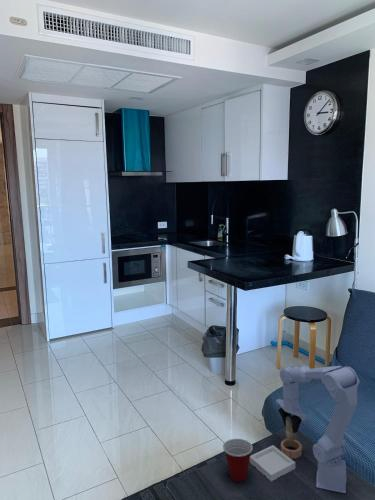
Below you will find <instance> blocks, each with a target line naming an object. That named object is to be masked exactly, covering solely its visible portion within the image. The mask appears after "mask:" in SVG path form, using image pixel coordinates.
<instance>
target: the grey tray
mask: <svg viewBox="0 0 375 500" xmlns="http://www.w3.org/2000/svg"><path fill="white" fill-rule="evenodd" d="M249 463H250V465H252V466H253V467H254V466H255V467H256V468H255V467H254V468H255V469H256V470H258V471H259V472H260V473H261V475H263V476H264V475H265V476H266V477H265V476H264V477H265V478H267V479H268V480H269V481H270V482H273V481H275V480H277V479H279V478H280V476H281V477H283V476H284V475H287V474H288V473H290V472H292V471H294V470H295V469H296V461H294V460H293V458H289V457H288V456H286V455H285V454H284V453H282V452H281V449H279V448H277V447H276V446H275V445H273V444H272V445H270V446H268V447H267V448H263V449H262V450H260V451H258V452H256V453H254V454H251V455H250V459H249ZM282 475H283V476H282ZM278 477H279V478H278Z"/></svg>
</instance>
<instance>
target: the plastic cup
mask: <svg viewBox="0 0 375 500" xmlns="http://www.w3.org/2000/svg"><path fill="white" fill-rule="evenodd" d="M253 447H254V446H253V445H252V443H251V442H250V441H248V440H246V439H243V438H232V439H231V438H230V439H228V440H226V441H225V442H224V443H223V445H222V449H223V451H224V453H225V456H226V457H225V458H226V461H227V467H228V470H229V475H230V478H231V479H232V480H233V481H234V482H235V483H237V482H238V483H240V482H241V483H242V482H244V481H246V479H247V476H248V471H249V465H250V464H249V463H250V456H251V455H252V451H253Z"/></svg>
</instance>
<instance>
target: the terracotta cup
mask: <svg viewBox="0 0 375 500" xmlns="http://www.w3.org/2000/svg"><path fill="white" fill-rule="evenodd" d="M287 447H289V448H287ZM290 447H292V448H295V449H290ZM280 451H281V452H282V453H284V454H285V455H286V456H288V457H289V458H290V459H298V458H300V457H302V456H303V455H302V454H303V445H302V443H300V441H299V440H297V439H296V440H288V439H287V438H284V439H283V440H281V442H280Z"/></svg>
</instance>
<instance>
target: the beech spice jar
mask: <svg viewBox="0 0 375 500" xmlns="http://www.w3.org/2000/svg"><path fill="white" fill-rule="evenodd" d="M291 416H294V415H293V414H290V413H287V414H286V427H285V439H288V440H297V432H296V433H293V430H292V422H291V419H290V417H291Z"/></svg>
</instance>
